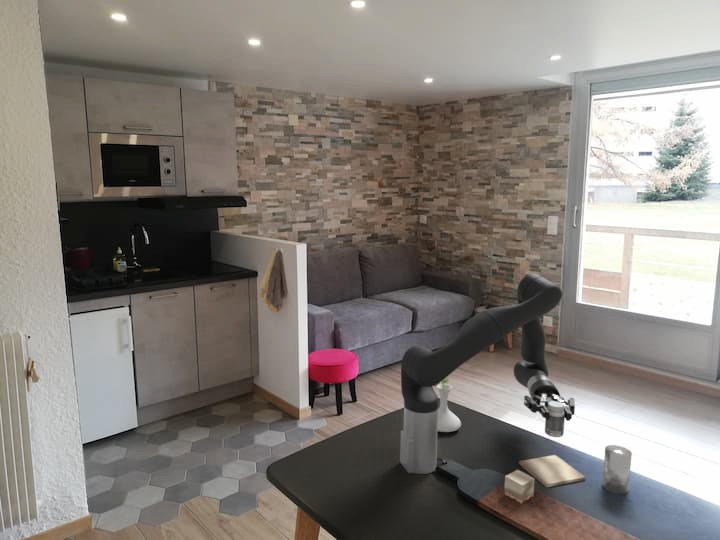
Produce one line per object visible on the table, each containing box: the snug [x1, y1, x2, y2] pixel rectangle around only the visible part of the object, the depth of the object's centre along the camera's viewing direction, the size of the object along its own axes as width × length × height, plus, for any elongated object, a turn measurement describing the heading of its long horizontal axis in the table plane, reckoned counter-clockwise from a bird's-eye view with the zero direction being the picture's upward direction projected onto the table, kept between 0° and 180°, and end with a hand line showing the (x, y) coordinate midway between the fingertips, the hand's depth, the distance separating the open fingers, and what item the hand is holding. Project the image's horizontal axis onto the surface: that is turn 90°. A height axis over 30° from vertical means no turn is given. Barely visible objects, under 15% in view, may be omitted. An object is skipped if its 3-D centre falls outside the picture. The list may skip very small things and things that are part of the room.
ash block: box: [503, 469, 536, 501], centre depth 127 cm, size 5×5×5 cm
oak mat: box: [518, 454, 586, 488], centre depth 138 cm, size 12×12×1 cm
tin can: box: [601, 444, 632, 495], centre depth 130 cm, size 6×6×10 cm
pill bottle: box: [544, 401, 566, 438], centre depth 136 cm, size 5×5×8 cm
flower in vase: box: [433, 375, 462, 433], centre depth 161 cm, size 13×11×25 cm
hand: (558, 416), depth 133 cm, fingers closed on pill bottle, 4 cm apart
